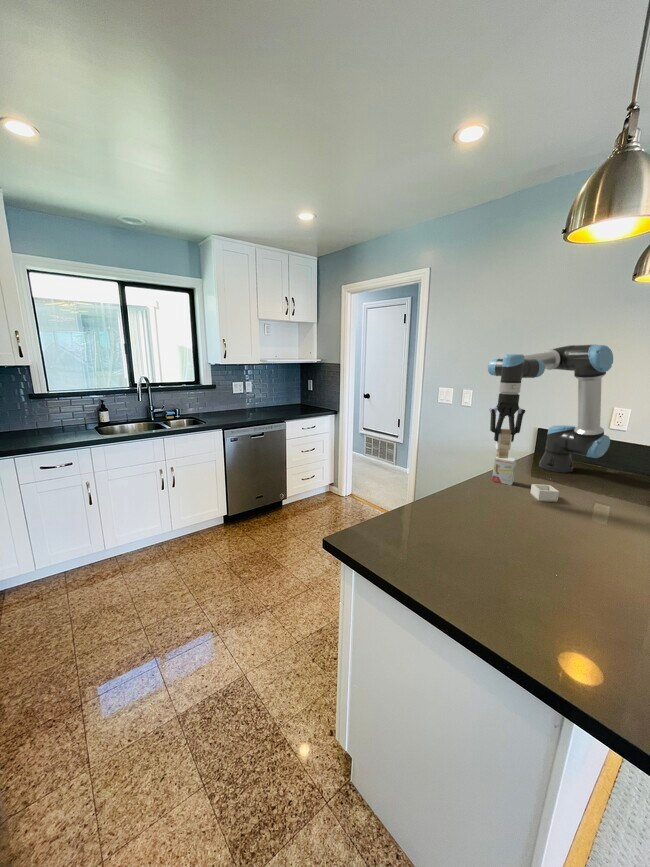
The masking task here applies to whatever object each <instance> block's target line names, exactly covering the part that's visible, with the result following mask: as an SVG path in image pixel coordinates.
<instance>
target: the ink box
mask: <svg viewBox="0 0 650 867" xmlns="http://www.w3.org/2000/svg"><path fill="white" fill-rule="evenodd" d="M516 466H517V459H516V458H514V457H509V456H508V459H507V458H498V457H497V456H495V457H494V462H493V470H492V476H491V478H492V479H491V482H493V481H494V482H493V483H499V484H503V485H508V486H512V485H513V483H514V480H515V473H516Z"/></svg>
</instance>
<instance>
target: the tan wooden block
mask: <svg viewBox="0 0 650 867" xmlns="http://www.w3.org/2000/svg"><path fill="white" fill-rule="evenodd" d="M500 434H501V441H500V450H497V449H496V453H495V457H498V458H507V459H508V457H509V452H510V450H509V444H510V436H511V430H510V429H509V428H501V430H500Z"/></svg>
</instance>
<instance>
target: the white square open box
mask: <svg viewBox="0 0 650 867" xmlns="http://www.w3.org/2000/svg"><path fill="white" fill-rule="evenodd" d="M529 495H531V496H532V497H533V498H534V499H535V500H536V501H538V502H551V503H552V502H553V503H558V499H559V495H560V491H559V490H558V489H556V488H555V487H553V486H552V485H550V484H536V483H535V484H534V483H531V486H530V494H529Z"/></svg>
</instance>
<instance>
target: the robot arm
mask: <svg viewBox="0 0 650 867" xmlns="http://www.w3.org/2000/svg"><path fill="white" fill-rule="evenodd" d="M613 363H614V354H613V350H612V349H611V348H610V347H609V346H608V345H605V344H579V345H578V344H577V345H566V346H561V347H560V346H559V347H556V348H550V349H547V350H545V351H544V352H540V353H533V354H526V355H524V354H522V353H520V354H519V353H518V354H517V353H516V354H515V353H513V354H512V353H511V354H509V353H508V354H505V355H503V358H494V359H491V360H490V362H489V363H488V364H487V372H488V374H490V376H495V377H500V382H499V390H498V391H499V393H498V399H497V404H496V406H495V407H493V408H489V412H490V429H489V430H490V432H491V433H494V437H493V440H494V442H495V449H496V451H497V450H500V441H501V434H500V430H501V429H502V427H503V423H504V420H505V419H506V417H508V426H509V428H508V429H509V430H511V436H510V444H509V451H510V450H511V447H512V443H513V442H514V439H515V435H516V434H520V432H521V430H522V429H521V428H522V423H523V417H524V416H525V413H526V410H525V409H524V408H521V407H520V406H519V403H520V392H521V387H522V381H523V380H522V379H534V378H540V377H541V376H542V375H543V374H544V373H545V370H547V371H551V370H561V371H572V372H573V374H574V375H573V377H574V378H576V379H577V381H578V382H577V401H578V402H577V426H575V425H552V426H549V427H548V430H547V434H546V435H547V436H546V442H545V449H544V450H545V451H544V453H543V455H542V457H541V458H540V461H539V463H538V467H539V468H541V469H543V470H546V471H550V472H555V473H563V474H564V473H565V474H566V473H572V472H573V471H574V464H573V460H572V454H576V455H581V456H584V457H587V458H593V459H598V458H600V457H603V456H604V455H605V453H606V452H607V451H608V449H609V448H610V443H611V438H610V437H609V435H608V434H607V435H606V434H605V428H603V427H602V426H601V416H602V415H601V414H602V413H601V412H602V411H601V410H602V409H601V408H602V378H604V377H605V376H606V375H607V372H608V371H609V370H610V369H611V368H612V365H613ZM610 371H611V370H610ZM497 411H498V413H499V414H498V418H497V414H496V413H497ZM516 413H517V416H516V421H515V414H516ZM496 419H497V420H496ZM496 421H497V422H496Z"/></svg>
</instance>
